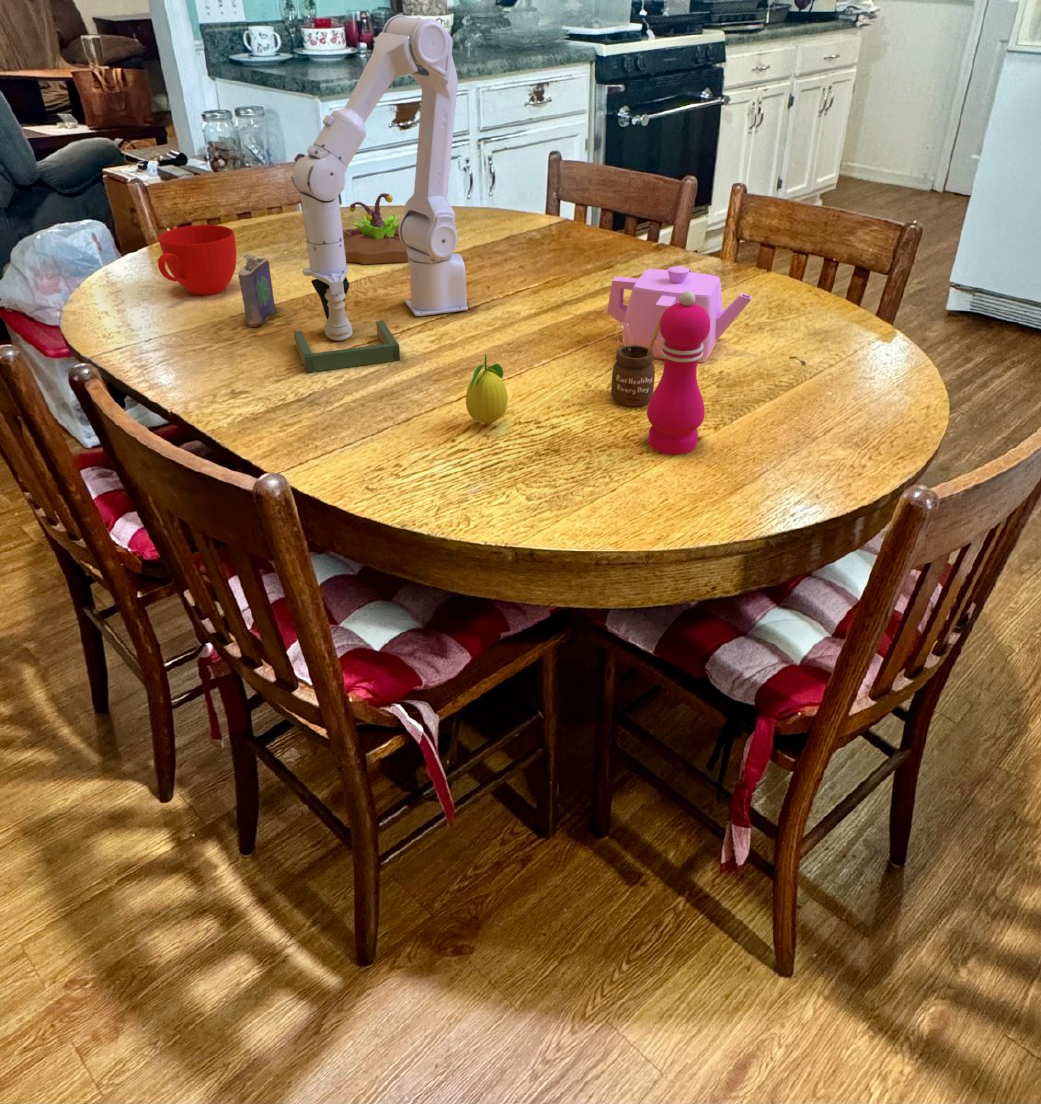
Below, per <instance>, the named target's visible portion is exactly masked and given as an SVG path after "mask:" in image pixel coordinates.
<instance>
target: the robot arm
mask: <svg viewBox="0 0 1041 1104" xmlns="http://www.w3.org/2000/svg"><path fill="white" fill-rule="evenodd" d="M453 44H454V39H453V37H452V36H451V34H450V33H449V32H448V31H447V29H446V28H445V27H444V25H443V24H442V23H441V22H439V20H436V19H434V18H416V17H408V16H406V15H400V14H398V15H394V16H392V17H390V18H389V19H388V20H387V21H386V22H385V24H384V26H383V28H382V31H381V32H380V33H379V34H378V35H377V37H376V38H375V41H374V47H373V51H372V53H371V55H370V58H369V59H368V61H367V63H366V66H365V67H364V69H363V71H362V73H361V75H360V77H359V79H358V80H357V83H356V85H355V87H354V89H353V90H352V93H351V94H350V97H349V98H348V100H347V102H346V104H345V106H344V107H343V108H341V109H334V110H333V111H332V112H331V113H330V114H326V115H325V116H324V118H323V119H322V123H323V124H324V126H323V127H322V128H321V131H320V132H319V134H318V135H317V136H316V139H315V140H314V142H313V143H312V145H309V146H308V148H307V150H306V152H307V155H303V157H300V158H299V159H298V160H297V161H296V162H295V164H294V166H293V167H294V168H293V170H292V173H293V174H292V175H290V182H291V184H292V186H293V187H294V189H295V190H296V191H297V192H298V194H299V197H300V202H301V203H300V204H301V211H302V219H303V226H304V234H305V240H306V248H307V255H308V263H309V267H304V268H302V274H303V276H304V277H312V278H314V279H312V280H311V281H310V282H311V285H312V286H313V288H314V290H315V292H316V293H317V294H318V296H319V299H320V302H321V305H322V308H323V312H324V315H325V318H326V321H327V320H328V318H329V307H328V306H327V303H328V300H327V299H326V298H325V294H326V293H327V289H329V287H330V293H331V294H340V293H345V295H346V296H347V295H348V294H347V293H348V291H349V289H350V283H349V280H348V278H347V275H348V273H349V266H348V265H347V263H346V257H345V248H344V239H343V223H342V214H341V205H340V194H342V192H344V189H345V186H346V178H345V177H346V176H345V174H346V172H347V169H348V167H349V165H350V163H351V162H352V160H353V159H354V158H355V155H356V153H357V152H358V151H359V148H360V147H361V145H362V143H363V142H364V140H365V139H366V137H367V132H366V126H365V122H366V121H367V120H368V119H369V117H370V115H371V114H372V112H373V111H374V109H375V108H376V106H377V105H378V103H379V102H380V100H381V99H382V97H383V96H384V94H385V93H386V91H387V90H388V89H389V87H390V86H391V84H393V81H394V80H395V79H397V78H400V77H404V76H408V75H411V77H412V78H413V80H415V81H416V83H417V84H418V85H419V87H420V88H421V99H420V108H419V109H420V110H419V124H418V136H417V147H416V148H417V149H416V162H415V176H414V188H413V194H412V195H411V197H409V199H407V201H406V202H405V203H404V212H403V214H402V216H401V217H402V218H401V219H400V221H399V223H400V224H399V230H398V232H399V238H400V240H401V242H402V243H403V244H404V245H405V246H406V247H407V254H408V262H407V263H408V277H409V287H410V288H409V289H410V298H408V299H407V298H406V299H405V300H404V302H405V304H406V305H407V307H408V308H409V310H410V311H411V313H412V314H413V315H414V316H415V317H423V316H424V317H425V316H431V315H441V314H448V313H455V312H465V311H468V310H469V307H468V301H467V299H468V298H467V274H466V267H465V262H464V261H465V260H464V259H463V257H462V255H461V254H460V253H455V251H456V250H457V247H458V243H459V242H458V241H459V235H458V231H457V227H456V217H457V216H456V212H455V211H454V209H453V208H452V205H451V204H450V202H449V199H448V191H449V181H450V170H451V159H452V150H453V140H454V139H453V138H454V129H455V119H456V117H455V116H456V109H457V107H456V106H457V95H458V86H459V84H458V83H459V79H458V74H457V70H456V65H455V62H454V58H453ZM345 300H346V297H345V298H344V300H343V301H344V302H346V301H345Z"/></svg>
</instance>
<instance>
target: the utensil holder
mask: <svg viewBox="0 0 1041 1104" xmlns="http://www.w3.org/2000/svg"><path fill="white" fill-rule="evenodd" d="M661 316H662V315H660V318H659V321H658V323H657V326H656V328H655V331H654V333H653V338H652V342H651V345H650V347H649V348H647V347H644V346H638V345H629V346H625V343H624V345H623V346H621V345H620V342H619V341H616V340H614V342H615V346H618V348H617V351H616V353H615V363H614V364H613V366H612V373H611V386H610V387H611V389H610V393H611V398H612V400H613V401H614V402H615V403H617V404H618V405H622V406H624V407H625V406H626V407H641V406H645V405H648V404H649V401H650V398H651V396H652V394H653V392H654V391H655V379H656V378H655V377H656V369H655V365H654V363H653V362H654V360H655V358H654V355H653V351H652V350H651V349H652V346H653V344H654V341H655V340H656V338H657V335H658V332H659V324H660V320H661ZM625 324H626V323H624V325H625ZM624 325H623V323H620V322H618V323H617V326H615V327H614V330H613V331H614V332H613V334H614V336H616V339H617V340H619V337H618V335H616V333H618V330H619V327H620V326H624ZM626 325H628V324H626ZM626 325H625V326H626ZM628 326H629V325H628ZM628 326H626V327H628ZM629 327H630V326H629ZM615 329H616V330H615ZM627 329H628V328H627ZM630 329H631V328H630ZM621 331H622V332H621V333H623V327H621ZM628 332H629V330H628ZM631 334H632V332H631ZM623 340H624V336H623V335H622V341H623ZM629 342H630V335H629Z"/></svg>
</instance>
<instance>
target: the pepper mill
mask: <svg viewBox="0 0 1041 1104" xmlns="http://www.w3.org/2000/svg"><path fill="white" fill-rule="evenodd" d="M694 302H695V295H694V293H693V292H691V291H684V292H683V293H682V294H681V296H680V303H675V304H673V305H671V306H670V307H668V308H667V309H666V310H665V311H664V312H663V314H662V316H661V320H660V324H659V329H660V333H661V335H662V337H663V338H664V339H665V341H663V343H662V350H661V354H662V356H663V357H664V359H663V360H664V363H663V371H662V374H661V377H660V379H659V381H658V384H657V385H656V387H655V388H654V390H653V394H652V396H651V398H650V401H649V403H647V408H646V417H647V419H648V422H649V423H650V425H651V426H650V427H649V429H648V439H647V441H648V444H649V446H650V447H651V448H652V449H653V450H655V451H657V452H660V453H663V454H667V455H685V454H688V453H691V452H693V451H694V450H696V448H697V445H698V439H699V432H698V428H700V427H701V425H702V424H703V422H704V420H705V409H706V408H705V403H704V399H703V396H702V393H701V391H700V388H699V384H698V378H697V373H698V364H699V362H698V360H699V359H700V358H701V357H702V356H703V352H702V350H703V348H704V346H703V344H702V341H704V340H705V339H706V337H707V336H708V334H709V331H710V318H709V315H708V313H707V312H706V310H705V309H704V308H702V307H701V306H700V305H698V304H695V303H694Z"/></svg>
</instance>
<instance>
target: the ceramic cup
mask: <svg viewBox="0 0 1041 1104" xmlns="http://www.w3.org/2000/svg"><path fill="white" fill-rule="evenodd" d="M158 242H159V245H160V249H161V252H162V254H161V255H160V256H159V257H158V261H157V265H158V270H159V272H160V274H161V275H162V276H163V277H164V278H165V279H167V280H169V281H172V282H176V283H178V284H180V285H181V287H182V288H184V289H185V290H187V292H189V293H190V294H191V295H194V296H211V295H216V294H220V293H222V292H224V291H225V290H227V287H228V286H229V284H230V282H231V281H232V278H233V277H234V275H235V272H236V267H237V245H236V236H235V231H234V230H233V229H232V228H230V227H229V226H228V227H227V226H224V225H218V224H217V225H216V224H196V225H194V224H193V225H187V226H180V227H177V228H171V229H170V230H167V231H164V232H162V233H161V234H159V236H158ZM166 266H167V267H166ZM167 268H168V270H169V272H170V273H171V274H170V273H169V272H168V270H167Z"/></svg>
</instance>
